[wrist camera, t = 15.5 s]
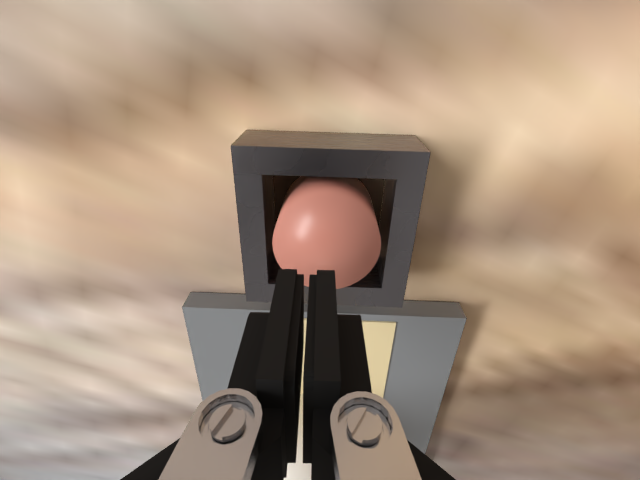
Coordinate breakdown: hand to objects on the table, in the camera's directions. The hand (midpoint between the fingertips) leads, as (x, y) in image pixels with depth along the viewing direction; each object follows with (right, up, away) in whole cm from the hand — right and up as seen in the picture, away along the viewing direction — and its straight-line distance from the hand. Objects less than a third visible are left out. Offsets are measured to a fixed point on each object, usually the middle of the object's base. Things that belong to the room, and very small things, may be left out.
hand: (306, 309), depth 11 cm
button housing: (+1, +4, +5) cm, 6 cm away
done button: (+1, +3, +5) cm, 6 cm away
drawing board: (0, -8, +11) cm, 14 cm away
